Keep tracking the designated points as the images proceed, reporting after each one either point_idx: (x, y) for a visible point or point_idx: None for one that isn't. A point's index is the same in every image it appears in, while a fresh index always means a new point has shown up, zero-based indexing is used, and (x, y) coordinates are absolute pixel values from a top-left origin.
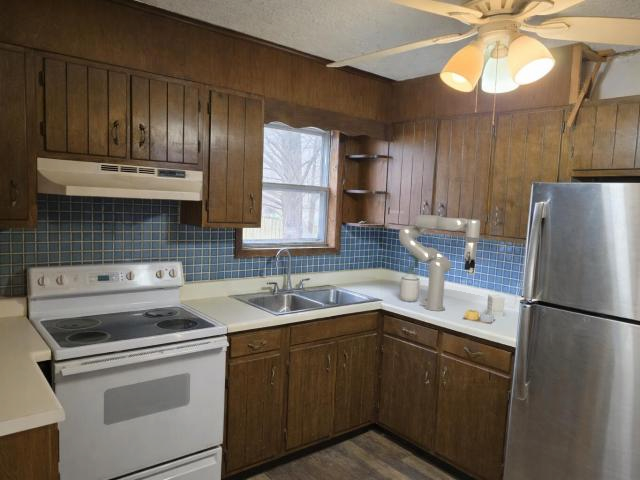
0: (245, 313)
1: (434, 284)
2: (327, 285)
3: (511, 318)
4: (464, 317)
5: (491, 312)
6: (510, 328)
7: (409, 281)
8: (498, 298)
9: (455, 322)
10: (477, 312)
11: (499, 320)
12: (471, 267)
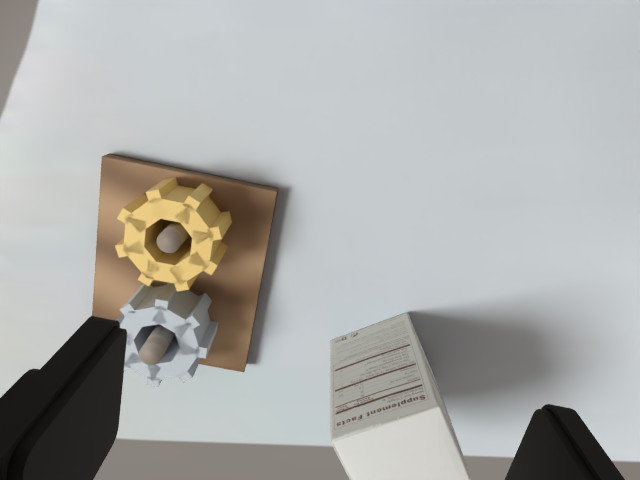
0: None
1: None
2: None
3: None
4: (164, 173)
5: (332, 360)
6: (129, 434)
7: None
8: (350, 477)
9: (34, 113)
10: (149, 280)
11: (297, 384)
12: (519, 463)
